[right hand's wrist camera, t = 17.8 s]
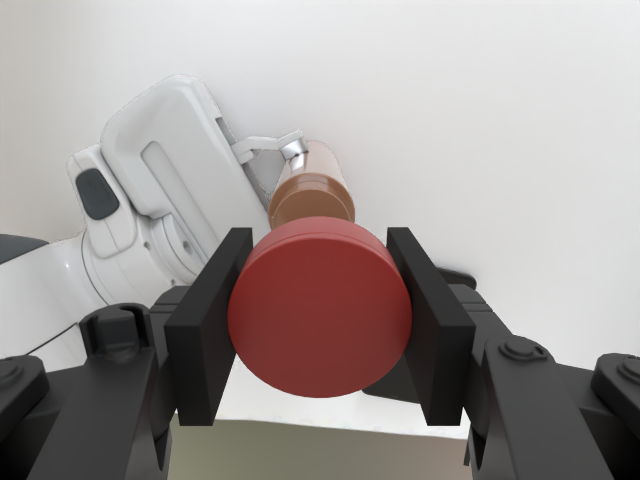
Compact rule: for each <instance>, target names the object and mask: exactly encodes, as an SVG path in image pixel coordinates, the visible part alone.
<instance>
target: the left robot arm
mask: <svg viewBox="0 0 640 480" xmlns="http://www.w3.org/2000/svg"><path fill="white" fill-rule="evenodd" d="M308 149H309V147H308V145H307V142H306V140H305V138H304V136H303V134H302V132H301V130H300V129H298V130H295V131H294V132H292V133H290V134H288V135H286V136H284V137H282V138H280V139H277V138H272V137H259V136H249V137H247V138H245V139H243V140H241V141H239V142H237V141H236V140H235V138H234V136H233V134H232V132H231V130H230V129H229V127H228V125H227V123H226V121H225V120H224V118H223V116H222V114H221V112H220V110H219V109H218V107H217V105H216V103H215V101H214V99H213V98H212V96H211V94H210V92H209V90H208V88H207V87H206V85H205V84H204V82H202V81H201V80H198V79H196V78H193V77H190V76H186V75H173V76H170V77H168V78H166V79H164V80H162V81H160V82H158V83H157V84H155V85H154V86H152V87H151V88H149V89H148V90H146V91H145V92H143V93H142V94H140V95H139V96H138V97H136V98H135V99H133V100H132V101H131V102H129V103H128V104H127V105H126V106H125V107H123V108H122V109H121V110H120V111H119V112H117V113H116V114H115V115H114V116H113V117H112V118H111V119H110V120H109V121H108V123H107V124H106V125H105V127H104V129H103V131H102V134H101V139H100V144H96V145H94V146H91V147H88V148H86V149H84V150H82V151H80V152H78V153H76V154H74V155H72V156H71V157H70V158H69V159H68V160H67V171H68V175H69V178H70V180H71V183H72V185H73V188H74V191H75V193H76V196H77V199H78V201H79V204H80V207H81V210H82V213H83V216H84V219H85V223H86V226H87V227H86V228H85V229H84V230H83V231H82V232H81V233H80V234H79V235H78V236H76V237H75V238H72V239H69V240H62V241H58V242H54V243H52V244H49V242H46V241H43V240H39V239H35V238H29V237H22V236H15V235H7V234H0V359H2V358H3V359H5V358H6V357H11V356H20V355H31V356H37V357H38V358H40V359H41V360H42V361H43V364H44V367H45V371H46V372H52V371H57V370H62V369H67V368H72V367H77V366H81V365H84V363H85V361H86V359H87V355H86V351H85V347H84V343H83V339H82V335H81V332H80V328H79V324H78V323H79V322H80V321H81V320H82V319H83V318H84V317H85V316H86V315H88V314H90V313H92V312H93V311H95V310H97V309H100V308H103V307H106V306H108V305H113V304H118V303H133V302H134V303H139V304H143V305H145V306H146V307H147V308H149V309H150V308H151V306H152V305H154V303H155V302H156V300H157V299H158V298H159V297H160V296H161V294H162V293H164V292H166V291H167V290H169V289H171V288H172V287H174V286H191V285H192V284H193V282H194V281H195V280H196V278H197V277H198V275H199V274H200V272H201V271H202V269H203V268H204V267H205V265H206V264H207V262H208V261H209V259H210V258H211V257H212V255H213V254H214V252H215V251H216V249H217V248H218V246H219V245H220V244H221V242H222V241H223V239H224V238H225V236H226V235H227V234H228V232H229V231H230V229H231V228H232V227H252V233H253V248H254V247H255V246H256V244H257V243H258V242H259V241H260V240H261V239H262V238H263V237H264V236H266V235H267V234H268V233H269V232H271V228H270V226H269V221H268V207H269V203H270V202H269V200H268V198H267V196H266V194H265V192H264V191H263V189H262V187H261V185H260V183H259V181H258V180H257V178H256V176H255V174H254V172H253V171H252V169H251V167H250V165H249V163H248V161H249V160H251V159H253V158H254V157H255V156H256V155H257V154H258V150H273V151H281V153H282V155H283V157H284V159H285V160H286V161H287V160H289V159H291V158H293V157H295V155H296V154H301V153H303V152H305V151H307V150H308Z"/></svg>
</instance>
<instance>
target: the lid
mask: <svg viewBox="0 0 640 480" xmlns="http://www.w3.org/2000/svg"><path fill="white" fill-rule="evenodd" d="M412 317H413V312H412V304H411V300H410V296H409V293H408V291H407V288H406V286H405V284H404V282H403V280H402V277H401V275H400V273H399V271H398V269H397V267H396V264H395V262H394V260H393V258H392V256H391V255H390V253H389V251H388V250H387V248H386V247H385V246H384V245H383V244H382V242H381V241H380V240H379V239H378V238H376V237H375V236H374V235H373V234H372V233H370V232H369V231H367V230H366V229H364V228H363V227H361V226H359V225H357V224H355V223H352V222H349V221H347V220H343V219H339V218H335V217H325V216H318V217H306V218H300V219H297V220H293V221H290V222H288V223H285V224H283V225H281V226H279V227H277V228H276V229H274V230H272V231H271V232H269V233H268V234H267V235H266V236H264V237H263V238H262V239H261V240H260V241H259V242H258V243H257V244H256V246H255V247H254V248H253V250H252V251H251V252H250V254H249V256H248V258H247V260H246V262H245V264H244V266H243V268H242V270H241V273H240V275H239V277H238V279H237V281H236V284H235V286H234V288H233V290H232V293H231V296H230V299H229V304H228V309H227V320H228V330H229V335H230V339H231V342H232V344H233V347H234V349H235V351H236V353H237V354H238V356H239V358H240V359H241V361H242V362H243V363H244V364H245V366H246V367H247V368H248V369H249V370H250V371H251V372H252V373H253V374H254V375H255V376H257V377H258V378H259V379H261V380H262V381H264V382H265V383H267V384H269V385H270V386H272V387H274V388H276V389H279V390H281V391H283V392H286V393H290V394H293V395H297V396H302V397H310V398H330V397H338V396H343V395H347V394H351V393H353V392H356V391H359V390H361V389H363V388H366V387H368V386H370V385H371V384H373V383H375V382H376V381H378V380H379V379H380V378H382V377H383V376H384V375H385V374H387V373H388V372H389V371H390V370H391V369H392V368H393V367H394V366H395V364H396V363H397V362H398V360H399V359H400V358H401V356H402V354H403V352H404V350H405V349H406V346H407V344H408V341H409V339H410V335H411V328H412Z"/></svg>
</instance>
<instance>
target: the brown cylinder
mask: <svg viewBox="0 0 640 480" xmlns="http://www.w3.org/2000/svg"><path fill="white" fill-rule="evenodd" d="M307 145H308V147H309V149H308V150H307V151H305V152H303V153H301V154H296V155H295V157H293V158H291V159H289V160H287V161H286V163H285V165H284V168H283V170H282V173H281V175H280V178H279V180H278V183H277V185H276V187H275V190H274V192H273V195H272V197H271V200H270V203H269V207H268V221H269V226H270V228H271V231H272V230H274V229H276V228H277V227H279V226H281V225H283V224H285V223H288V222H290V221H293V220H297V219H300V218H306V217H318V216H325V217H335V218H339V219H343V220H347V221H349V222H352V223H354V222H355V208H354V203H353V200H352V197H351V195H350V192H349V190H348V188H347V185H346V183H345V180H344V178H343V175H342V173H341V170H340V168H339V165H338V163H337V160H336V158H335V156H334V154H333V152H332V151H331V150H330V149H329V148H328V147H327V146H326V145H324V144H322V143H320V142H316V141H307Z"/></svg>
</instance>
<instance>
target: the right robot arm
mask: <svg viewBox="0 0 640 480" xmlns="http://www.w3.org/2000/svg"><path fill="white" fill-rule="evenodd" d="M386 248H387V250H388V251H389V253H390V255H391V256H392V258H393V260H394V262H395V264H396V267H397V269H398V271H399V273H400V275H401V277H402V280H403V282H404V284H405V286H406V288H407V291H408V293H409V296H410V300H411V304H412V312H413V317H412V328H411V335H410V339H409V341H408V344H407V346H406V349H405V350H404V352H403V353H404V356H405V359H406V362H407V365H408V368H409V371H410V374H411V378H412V381H413V384H414V387H415V390H416V393H417V396H418V399H419V402H420V405H421V408H422V411H423V414H424V417H425V420H426V423H427V426H460V422H461V416H462V410H463V407H464V409H465V411H466V413H467V415H468V418H469V420H470V422H471V424H470V430H469V435H468V441H467V446H466V452H465V458H464V465H466V466H469V462H470V460H471V467H472V475H473V480H640V357H635V356H633V355H629V354H618V353H610V354H603V355H602V356H601V357H599V358H598V360H597V363H596V366H595V369H594V371H592V370H587V369H582V368H577V367H572V366H567V365H562V364H558V363H556V362H555V360H554V358H553V356H552V355H551V354H550V353H549V352H548V350H547V349H545V348H544V347H543V346H541V345H540V344H538V343H537V342H534V341H532V340H529V339H527V338H525V337H521V336H516V335H513V334H512V333H511V332H510V331H509V329H508V328H507V327H506V326H505V325H504V323H503V322H502V321H501V320H500V318H499V317H498V316H497V315H496V314H495V312H493V310H492V309H491V308H490V306H489V305H488V304H486V302H485V300H484V299H483V298H482V297H481V295H480V294H479V293H478V292H476V291H475V290H473V289H471V288H470V287H468V286H466V285H465V284H447V283H446V281H445V280H444V278H443V277H442V276H441V274H440V273H439V271H438V270H437V268H436V267H435V266H434V264H433V263H432V261H431V260H430V258H429V257H428V255H427V254H426V253H425V251H424V250H423V248H422V247H421V245H420V244H419V243H418V241H417V240H416V238H415V237H414V235H413V234H412V232H411V231H410V230H409V228H408V227H388V229H387V245H386ZM252 250H253V233H252V227H232V228H231V229H230V231H229V232H228V234H227V235H226V236H225V238H224V239H223V241H222V242H221V244H220V245H219V246H218V248H217V249H216V251H215V252H214V254H213V255H212V257H211V258H210V259H209V261H208V262H207V264H206V265H205V267H204V268H203V269H202V271H201V272H200V274H199V275H198V277H197V278H196V280H195V281H194V282H193V284H192V285H191V286H174V287H172V288H171V289H169V290H167V291H166V292H164V293H162V294H161V296H160V297H159V298H158V299H157V300H156V302H155V303H154V305H152V306H151V308H150V309H149V308H147V307H146V306H145V305H143V304H139V303H134V302H133V303H118V304H113V305H108V306H106V307H103V308H100V309H97V310H95V311H93V312H92V313H90V314H88V315H86V316H85V317H84V318H83V319H82V320H81V321H80V322H79V323H78V324H79V328H80V332H81V335H82V339H83V343H84V347H85V351H86V355H87V359H86V361H85V363H84V365H81V366H77V367H72V368H67V369H62V370H57V371H52V372H46V371H45V367H44V364H43V361H42V360H41V359H40V358H38V357H37V356H31V355H20V356H11V357H6V358H5V359H3V358H2V359H0V480H167V476H168V468H169V460H170V452H171V444H172V436H171V430H170V424H169V423H170V421H171V419H172V417H173V415H174V413H175V410H176V408H177V411H178V417H179V423H180V426H212V425H213V422H214V419H215V416H216V413H217V410H218V407H219V404H220V401H221V398H222V395H223V392H224V389H225V386H226V383H227V380H228V377H229V374H230V371H231V368H232V365H233V362H234V359H235V356H236V351H235V349H234V347H233V344H232V342H231V339H230V335H229V330H228V320H227V309H228V304H229V299H230V296H231V293H232V290H233V288H234V286H235V284H236V281H237V279H238V277H239V275H240V273H241V270H242V268H243V266H244V264H245V262H246V260H247V258H248V256H249V254H250V252H251V251H252Z"/></svg>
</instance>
